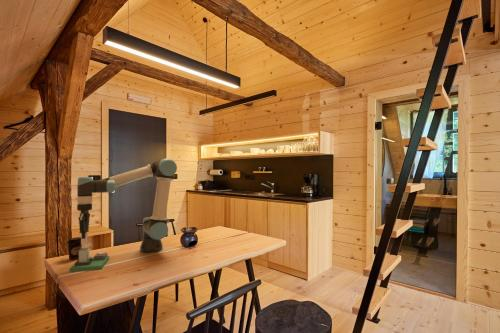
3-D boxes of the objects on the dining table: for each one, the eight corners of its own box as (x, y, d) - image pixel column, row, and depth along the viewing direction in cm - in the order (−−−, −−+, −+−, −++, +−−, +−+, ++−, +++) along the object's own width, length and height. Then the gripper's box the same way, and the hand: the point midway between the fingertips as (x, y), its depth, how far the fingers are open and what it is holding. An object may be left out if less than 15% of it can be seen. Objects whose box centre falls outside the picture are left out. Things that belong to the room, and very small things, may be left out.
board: (109, 259, 169) (109, 251, 169) (101, 269, 152) (101, 260, 152) (80, 261, 165) (80, 253, 165) (69, 271, 148) (69, 262, 148)
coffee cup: (86, 257, 172) (86, 237, 172) (74, 261, 164) (74, 240, 164) (75, 256, 175) (75, 236, 175) (63, 260, 167) (63, 239, 167)
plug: (89, 261, 158) (89, 247, 158) (87, 264, 154) (87, 249, 155) (81, 262, 157) (81, 248, 157) (78, 264, 153) (78, 250, 154)
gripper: (81, 202, 162) (80, 241, 161) (73, 204, 149) (72, 247, 149) (95, 201, 164) (94, 240, 163) (88, 204, 151) (87, 246, 151)
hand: (84, 243), depth 156 cm, fingers closed
